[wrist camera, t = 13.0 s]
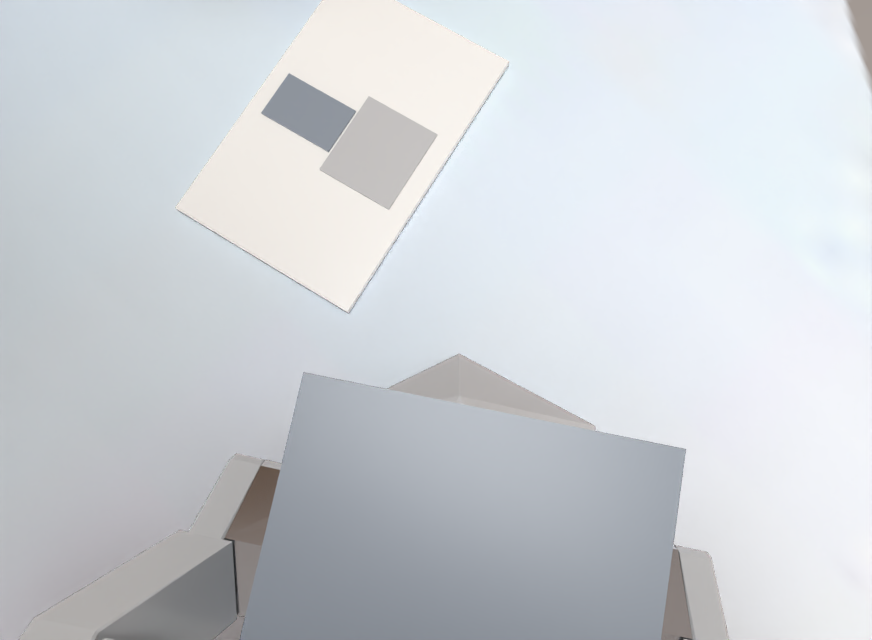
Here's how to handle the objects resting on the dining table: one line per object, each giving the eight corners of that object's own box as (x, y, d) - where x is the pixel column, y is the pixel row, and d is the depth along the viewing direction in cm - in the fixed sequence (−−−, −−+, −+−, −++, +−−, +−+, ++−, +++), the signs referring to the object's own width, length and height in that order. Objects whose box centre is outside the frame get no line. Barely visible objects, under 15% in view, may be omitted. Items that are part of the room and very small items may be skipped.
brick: (536, 665, 15) (628, 889, 7) (330, 619, 15) (203, 787, 8) (570, 453, 16) (685, 448, 8) (375, 414, 16) (303, 372, 8)
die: (322, 606, 25) (466, 807, 17) (241, 395, 22) (364, 512, 14) (502, 497, 29) (694, 620, 20) (450, 302, 26) (647, 354, 18)
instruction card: (348, 313, 26) (347, 311, 26) (177, 210, 27) (173, 206, 27) (508, 65, 28) (509, 60, 28) (343, -24, 29) (341, -30, 29)
